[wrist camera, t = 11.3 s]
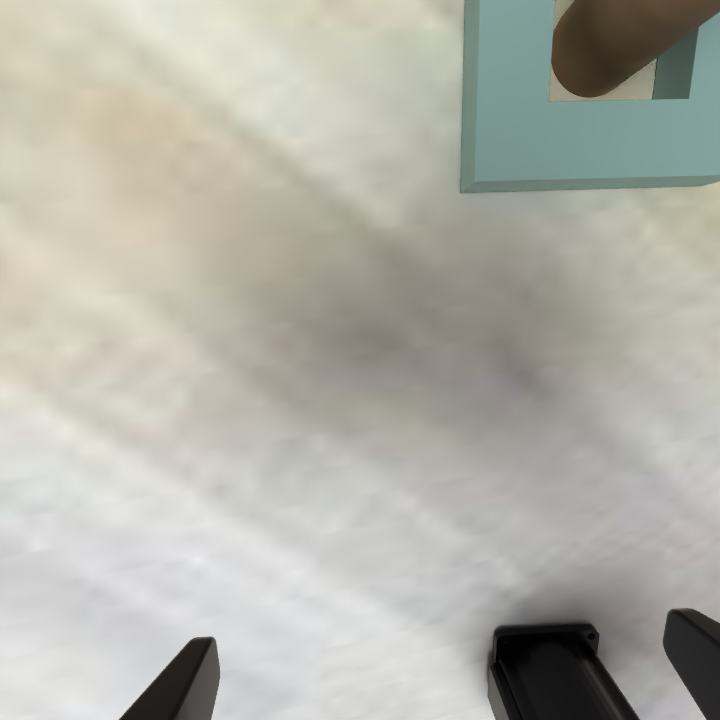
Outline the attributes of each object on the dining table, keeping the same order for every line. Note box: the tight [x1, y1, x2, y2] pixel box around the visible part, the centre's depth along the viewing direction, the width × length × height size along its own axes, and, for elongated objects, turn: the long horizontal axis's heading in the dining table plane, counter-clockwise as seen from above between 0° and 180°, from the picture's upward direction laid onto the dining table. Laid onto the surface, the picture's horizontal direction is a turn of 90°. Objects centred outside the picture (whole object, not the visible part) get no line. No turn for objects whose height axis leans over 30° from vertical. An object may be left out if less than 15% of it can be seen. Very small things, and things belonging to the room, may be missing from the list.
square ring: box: [460, 0, 720, 193], centre depth 16 cm, size 12×12×2 cm
